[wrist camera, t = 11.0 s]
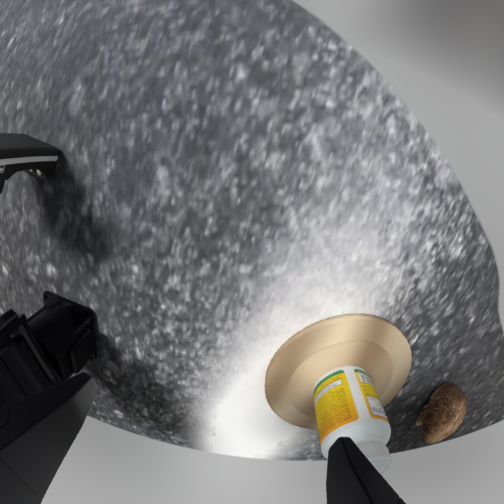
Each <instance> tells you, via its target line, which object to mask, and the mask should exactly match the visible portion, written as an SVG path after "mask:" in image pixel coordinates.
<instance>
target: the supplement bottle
mask: <svg viewBox="0 0 504 504" xmlns="http://www.w3.org/2000/svg"><path fill="white" fill-rule="evenodd" d="M313 400H314V406H315V412H316V419H317V425H318V432H319V438H320V445H321V451H322V454H323V455H324V457H325V458H326V459H327V460H328V451H329V448H330V447H331V446H332V444H333V443H334V442H335V441H336V440H337V438H339V437H350V438H351V439H352V440H353V441H354V443H355V444H356V445H357V446H358V448H359V449H360V450H361V451H362V453H363V454H364V455H365V456H366V457H367V459H368V460H369V461H370V462H371V464H372V465H373V466H374V467H375V468H376V470H377V471H378V472H379V473H380V474H381V473H382V472H384V471H385V470H386V469H387V468H388V467H389V466H390V464H391V457H390V454H389V450H388V448H387V447H386V444H387V443H388V441H389V439H390V436H391V428H390V425H389V422H388V419H387V417H386V414H385V412H384V409H383V407H382V404H381V402H380V400H379V397H378V395H377V392H376V390H375V387H374V385H373V382H372V380H371V378H370V376H369V374H368V373H367V372H366V371H365V370H364V369H363V368H361V367H358V366H353V365H346V366H340V367H337V368H334V369H332V370H330V371H329V372H327V373H325V374H324V375H322V376H321V377H320V378H319V379H318V381H317V382H316V384H315V386H314V388H313Z"/></svg>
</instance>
